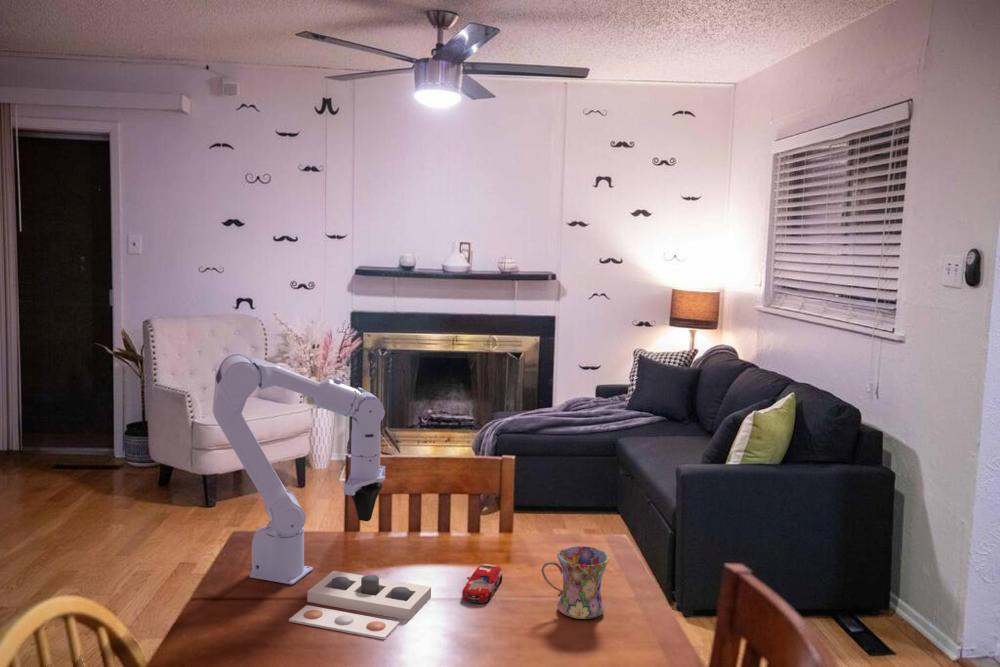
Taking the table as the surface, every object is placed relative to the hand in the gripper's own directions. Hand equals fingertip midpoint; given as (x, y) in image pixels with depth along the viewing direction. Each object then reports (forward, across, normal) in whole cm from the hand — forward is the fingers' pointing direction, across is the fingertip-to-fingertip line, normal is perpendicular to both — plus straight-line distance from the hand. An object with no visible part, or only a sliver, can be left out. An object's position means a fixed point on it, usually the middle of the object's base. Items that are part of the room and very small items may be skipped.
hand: (364, 519), depth 176 cm
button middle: (+8, -14, -8) cm, 18 cm away
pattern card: (+9, -24, -8) cm, 27 cm away
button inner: (+9, -14, -2) cm, 17 cm away
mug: (+10, -5, -44) cm, 45 cm away
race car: (+10, -2, -26) cm, 28 cm away
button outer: (+9, -14, -14) cm, 22 cm away
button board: (+9, -14, -8) cm, 19 cm away
